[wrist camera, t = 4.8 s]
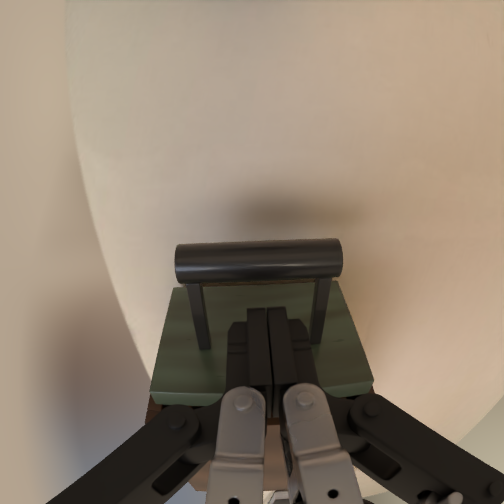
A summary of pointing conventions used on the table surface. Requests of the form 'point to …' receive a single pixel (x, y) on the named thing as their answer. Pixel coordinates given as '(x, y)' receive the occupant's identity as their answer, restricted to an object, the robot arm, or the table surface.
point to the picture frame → (280, 497)
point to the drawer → (235, 309)
